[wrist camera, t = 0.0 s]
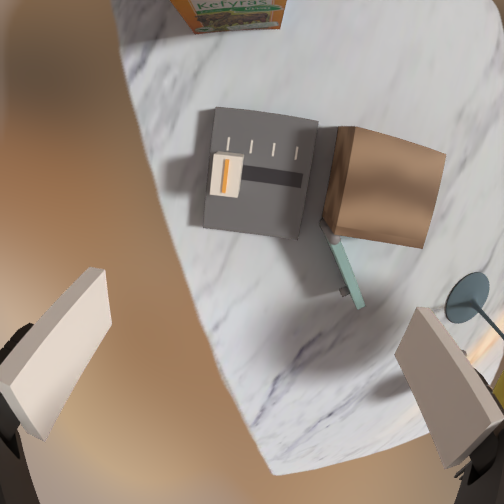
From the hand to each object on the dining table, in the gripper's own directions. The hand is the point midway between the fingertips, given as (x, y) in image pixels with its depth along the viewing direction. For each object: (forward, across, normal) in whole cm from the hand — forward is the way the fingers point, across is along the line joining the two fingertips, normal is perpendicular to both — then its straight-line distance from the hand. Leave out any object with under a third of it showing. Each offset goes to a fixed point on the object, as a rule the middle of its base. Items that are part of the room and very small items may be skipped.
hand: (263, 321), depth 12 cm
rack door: (+28, +12, -8) cm, 31 cm away
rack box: (+28, +15, +3) cm, 32 cm away
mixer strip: (+28, 0, +2) cm, 28 cm away
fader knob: (+26, -4, +2) cm, 26 cm away
